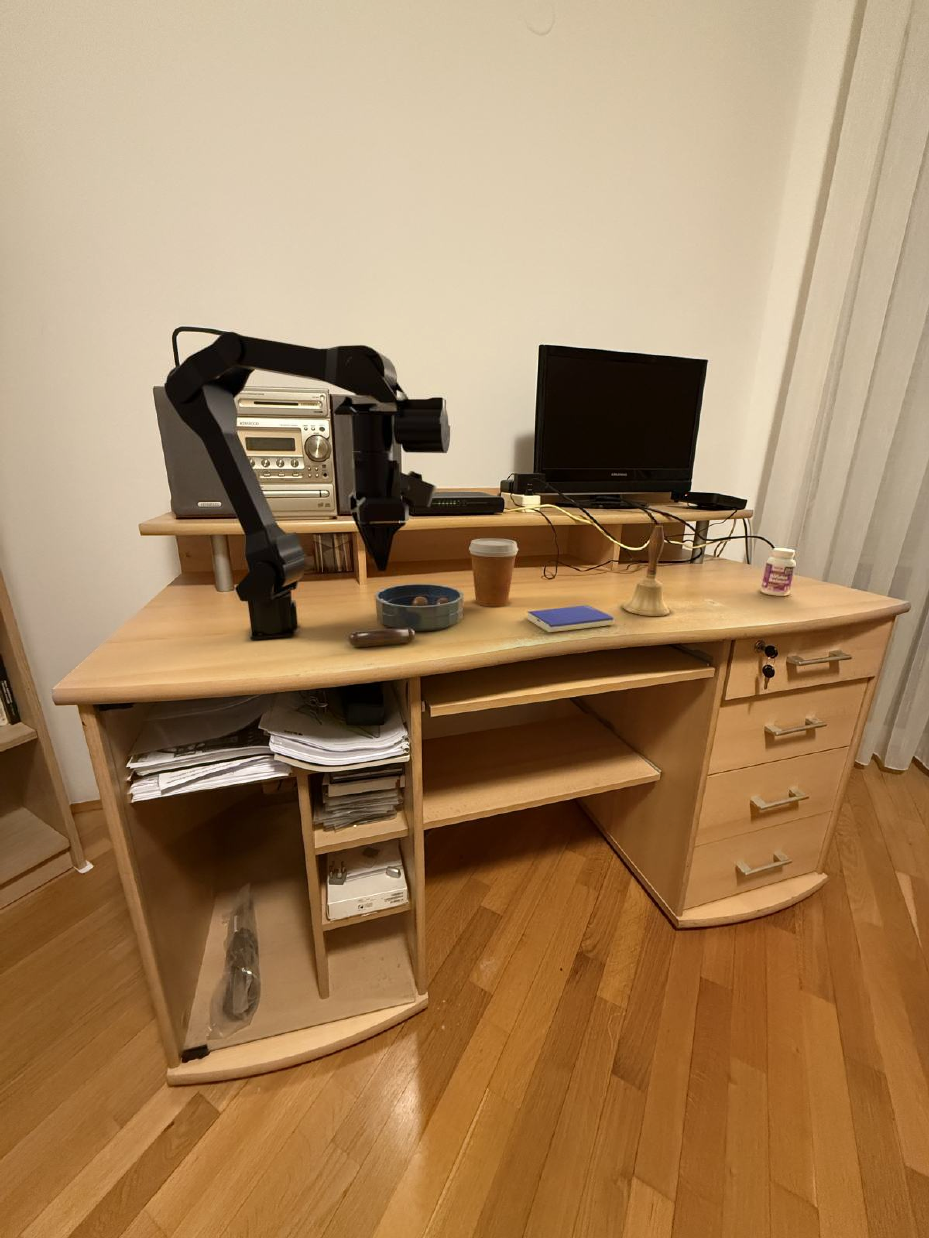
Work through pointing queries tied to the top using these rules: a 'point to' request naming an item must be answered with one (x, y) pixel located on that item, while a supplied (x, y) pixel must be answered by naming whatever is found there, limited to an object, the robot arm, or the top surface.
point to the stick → (381, 637)
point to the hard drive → (569, 618)
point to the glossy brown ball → (420, 602)
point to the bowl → (418, 607)
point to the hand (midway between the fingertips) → (377, 564)
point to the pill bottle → (779, 572)
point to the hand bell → (650, 582)
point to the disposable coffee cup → (492, 569)
